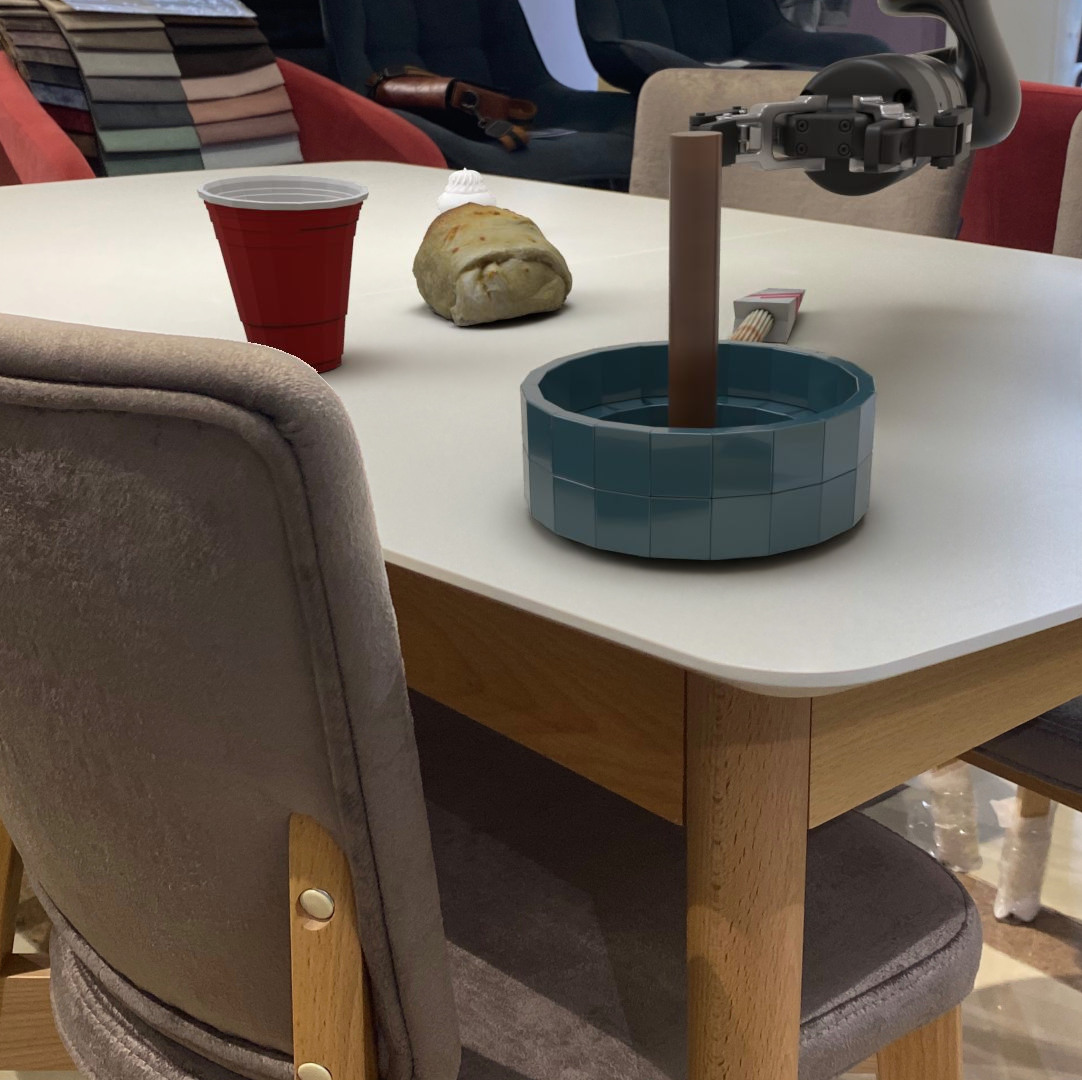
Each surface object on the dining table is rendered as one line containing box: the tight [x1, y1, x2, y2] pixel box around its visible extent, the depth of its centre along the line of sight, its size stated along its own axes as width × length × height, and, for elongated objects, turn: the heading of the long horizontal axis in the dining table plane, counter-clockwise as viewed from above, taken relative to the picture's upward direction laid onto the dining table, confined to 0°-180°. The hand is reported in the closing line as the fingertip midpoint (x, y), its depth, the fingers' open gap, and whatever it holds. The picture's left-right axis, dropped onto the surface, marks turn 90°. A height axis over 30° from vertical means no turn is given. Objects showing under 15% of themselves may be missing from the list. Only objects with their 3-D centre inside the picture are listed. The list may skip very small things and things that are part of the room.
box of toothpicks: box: [728, 287, 807, 344], centre depth 89 cm, size 4×3×20 cm
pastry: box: [411, 202, 574, 327], centre depth 100 cm, size 14×12×8 cm
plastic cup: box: [196, 174, 370, 373], centre depth 85 cm, size 11×11×12 cm
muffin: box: [436, 167, 498, 214], centre depth 133 cm, size 6×6×7 cm
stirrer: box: [667, 130, 723, 429], centre depth 57 cm, size 4×4×16 cm
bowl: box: [519, 339, 878, 561], centre depth 59 cm, size 16×16×6 cm
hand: (785, 149), depth 64 cm, fingers open, 8 cm apart
